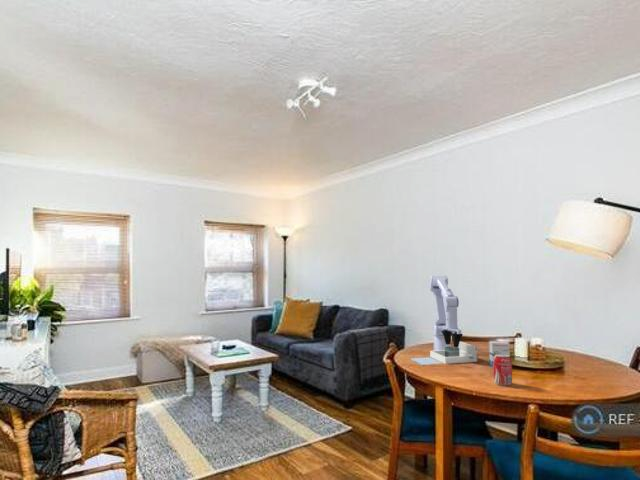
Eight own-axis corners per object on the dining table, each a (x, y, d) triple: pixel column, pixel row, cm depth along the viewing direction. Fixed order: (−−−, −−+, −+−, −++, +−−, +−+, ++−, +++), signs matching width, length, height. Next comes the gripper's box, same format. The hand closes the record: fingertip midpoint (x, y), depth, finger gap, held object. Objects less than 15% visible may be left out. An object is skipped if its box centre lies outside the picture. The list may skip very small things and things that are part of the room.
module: (444, 358, 207) (444, 346, 207) (455, 357, 208) (454, 346, 209) (449, 360, 203) (448, 348, 203) (459, 359, 204) (459, 348, 205)
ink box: (492, 367, 192) (491, 342, 192) (488, 364, 197) (488, 340, 197) (510, 367, 191) (509, 343, 192) (506, 365, 196) (506, 341, 197)
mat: (410, 359, 207) (410, 358, 207) (429, 358, 210) (429, 357, 210) (422, 365, 194) (422, 364, 194) (442, 364, 197) (442, 363, 197)
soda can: (496, 380, 170) (495, 352, 171) (514, 383, 166) (513, 354, 166) (491, 384, 165) (491, 355, 166) (509, 387, 160) (509, 357, 161)
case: (430, 357, 211) (429, 342, 211) (459, 355, 215) (459, 340, 216) (447, 365, 194) (447, 349, 195) (479, 363, 199) (479, 347, 199)
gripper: (437, 317, 213) (437, 343, 212) (452, 321, 199) (453, 349, 198) (449, 317, 215) (449, 342, 214) (464, 321, 200) (465, 348, 200)
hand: (451, 345), depth 206 cm, fingers open, 7 cm apart
